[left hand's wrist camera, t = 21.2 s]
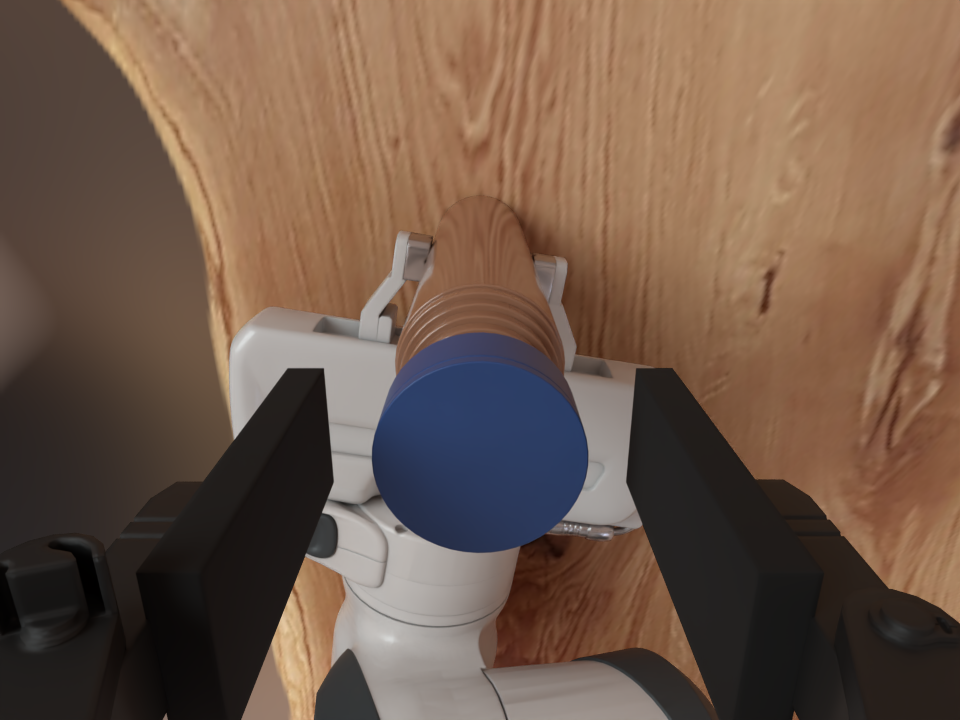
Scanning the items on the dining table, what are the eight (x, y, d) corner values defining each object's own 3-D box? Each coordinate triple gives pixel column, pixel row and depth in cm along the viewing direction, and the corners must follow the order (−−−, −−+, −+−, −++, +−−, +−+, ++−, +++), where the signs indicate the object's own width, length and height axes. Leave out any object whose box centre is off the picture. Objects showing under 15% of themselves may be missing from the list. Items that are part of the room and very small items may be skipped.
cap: (539, 302, 14) (547, 329, 12) (601, 471, 15) (616, 516, 13) (351, 371, 14) (334, 406, 12) (428, 528, 15) (422, 578, 14)
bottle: (460, 294, 36) (431, 571, 14) (422, 219, 35) (326, 400, 13) (536, 259, 35) (625, 493, 14) (500, 180, 34) (536, 303, 12)
